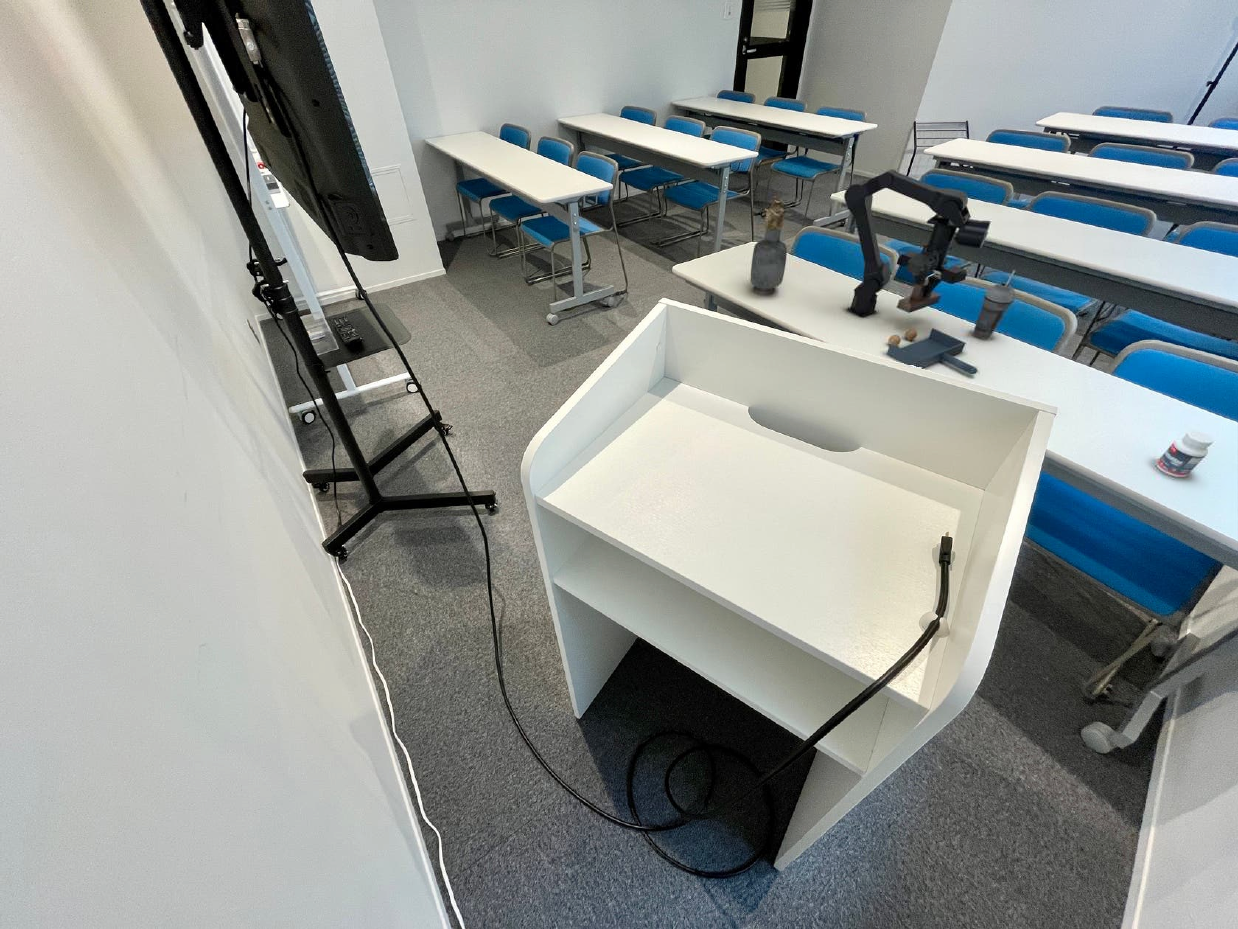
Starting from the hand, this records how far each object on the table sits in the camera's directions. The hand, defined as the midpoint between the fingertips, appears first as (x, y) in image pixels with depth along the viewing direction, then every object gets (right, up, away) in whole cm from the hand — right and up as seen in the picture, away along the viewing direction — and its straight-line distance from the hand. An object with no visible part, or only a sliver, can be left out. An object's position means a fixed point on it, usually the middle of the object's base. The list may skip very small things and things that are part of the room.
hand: (920, 295), depth 157 cm
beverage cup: (+18, -12, -1) cm, 21 cm away
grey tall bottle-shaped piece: (-39, +12, +29) cm, 50 cm away
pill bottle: (+26, -52, -46) cm, 74 cm away
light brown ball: (-10, -14, -5) cm, 18 cm away
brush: (0, -2, +2) cm, 3 cm away
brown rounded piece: (-4, -12, -2) cm, 13 cm away
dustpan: (-1, -22, -11) cm, 24 cm away
